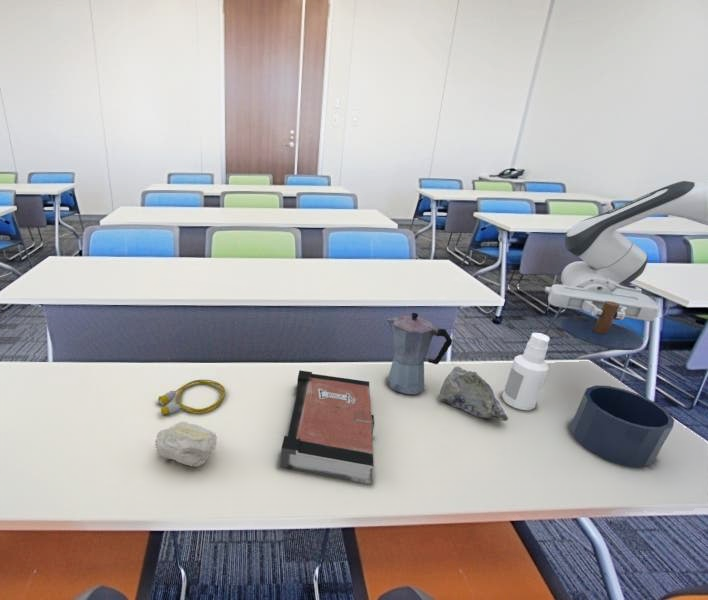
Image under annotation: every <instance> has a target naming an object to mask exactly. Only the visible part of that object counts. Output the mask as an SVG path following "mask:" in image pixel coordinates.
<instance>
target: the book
mask: <svg viewBox="0 0 708 600" xmlns="http://www.w3.org/2000/svg"><path fill="white" fill-rule="evenodd" d="M298 371H299V372H298V376H297V380H296V381H297V383H296V396H295V401H294V406H293V411H292V415H291V420H290V423H289V430H288V433H287V435H284V436H283V439H282V444H281V452H280V468H281V469H286V470H287V469H288V470H292V471H298V472H302V473H308V474H313V475H317V476H324V477H329V478H334V479H339V480H345V481H349V482H356V483H361V484H365V485H371V482H372V478H371V476H372V475H371V469H372V470H374V467H375V466H374V448H373V435H374V428H375V416H374V415H375V414H372V410H371V409H372V407H371V388H370V387H371V386H370V381H369V380H368V381H366V380H362V379H361V380H360V379H353V378H347V377H346V378H345V377H338V376H331V375H323V374H316V373H313V371H308V370H301V369H300V370H298Z"/></svg>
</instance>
